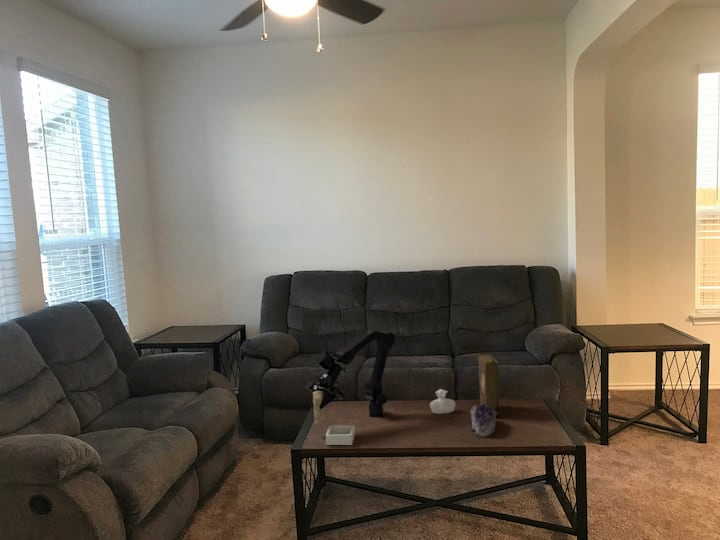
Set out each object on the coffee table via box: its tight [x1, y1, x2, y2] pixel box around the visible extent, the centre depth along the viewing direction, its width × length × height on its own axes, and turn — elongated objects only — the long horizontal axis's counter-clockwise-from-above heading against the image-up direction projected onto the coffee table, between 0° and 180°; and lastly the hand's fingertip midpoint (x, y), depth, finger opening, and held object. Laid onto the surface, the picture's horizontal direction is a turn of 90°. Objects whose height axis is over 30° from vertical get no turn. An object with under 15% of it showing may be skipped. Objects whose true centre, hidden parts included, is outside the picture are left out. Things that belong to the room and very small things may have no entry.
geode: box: [470, 404, 497, 439], centre depth 227 cm, size 20×12×10 cm, turn 170°
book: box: [477, 353, 501, 417], centre depth 247 cm, size 16×6×25 cm, turn 179°
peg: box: [312, 391, 325, 425], centre depth 229 cm, size 4×4×13 cm
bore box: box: [325, 424, 356, 446], centre depth 223 cm, size 11×11×4 cm
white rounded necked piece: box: [429, 388, 456, 415], centre depth 251 cm, size 12×8×11 cm
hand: (316, 408), depth 228 cm, fingers closed on peg, 4 cm apart
